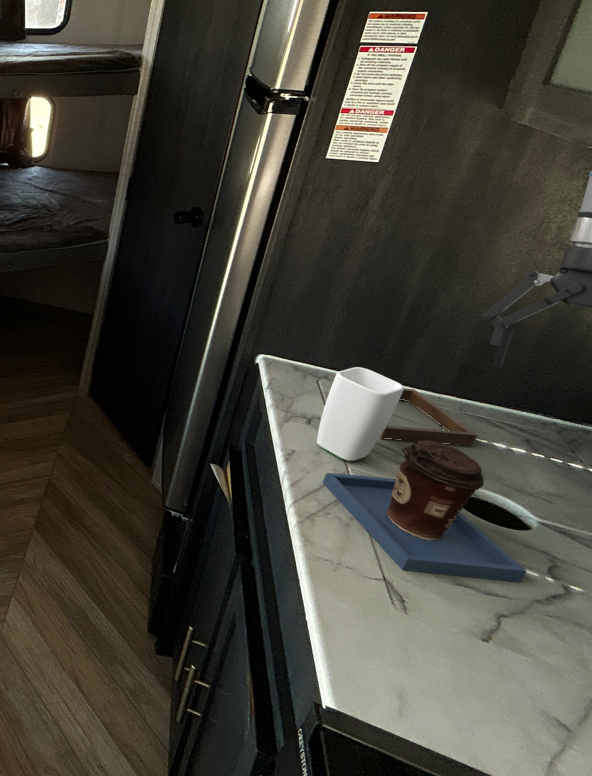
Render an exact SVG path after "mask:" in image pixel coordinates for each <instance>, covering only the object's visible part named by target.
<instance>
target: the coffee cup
mask: <svg viewBox="0 0 592 776" xmlns="http://www.w3.org/2000/svg"><path fill="white" fill-rule="evenodd" d="M401 451H402V453H403V454H404V458H405V460H404V461H403V462H402V463H400V465H399V469H398V471H397V475H396V478H395V479H396V482H395V485H394V488H393V491H392V498H391V503H390V505H389V508H388V511H387V513H388V516H389V518H390V519H391V521H392V522H393V523H394V524H395V525H397V526H398V527H399V528H400V529H401V530H403V531H405V532H407V533H409V534H411V535H413V536H415V537H419V538H421V539H424V540H429V541H434V540H438V539H440V538H442V537H443V533H444V531H445V530H447V529H448V528H449V527H450V525H451V524H452V522H453V521H454V520H455V518H456V517H457V514H459V513H461V512H462V511H463V508H464V507H465V506H466V504H467V503H468V502H469V500H470V499H472V496H473V495H474V493H476V491H478V490H480V489H482V488H483V487H484V484H485V481H484V480H485V479H484V476H483V473H482V471H483V469H482V467H481V465H480V464H479V463H478V462H477V461H476V460H475V459H473V458H471V457H470V456H469V455H467V454H466V453H465V452H463V451H462V450H459V449H458V448H456V447H454V446H452V445H447V444H442V443H438V442H434V441H429V440H425V441H418V442H414V443H413V444H410V445H408V446H405V447H403V448H402V449H401Z"/></svg>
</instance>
